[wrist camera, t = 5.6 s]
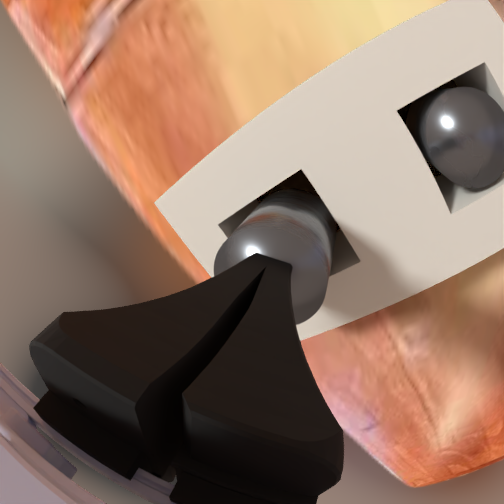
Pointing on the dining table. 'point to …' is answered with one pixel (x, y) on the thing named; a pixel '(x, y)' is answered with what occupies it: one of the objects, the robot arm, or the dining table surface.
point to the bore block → (363, 165)
